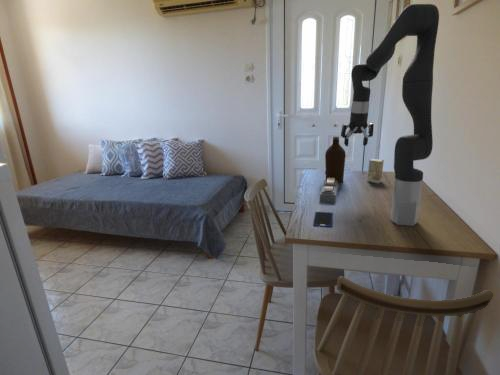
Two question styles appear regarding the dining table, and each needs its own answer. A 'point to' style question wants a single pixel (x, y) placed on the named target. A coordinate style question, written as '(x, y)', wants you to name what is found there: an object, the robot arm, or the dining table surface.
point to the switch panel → (329, 192)
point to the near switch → (328, 188)
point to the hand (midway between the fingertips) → (355, 145)
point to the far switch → (330, 180)
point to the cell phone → (323, 219)
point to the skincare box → (375, 170)
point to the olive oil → (335, 161)
